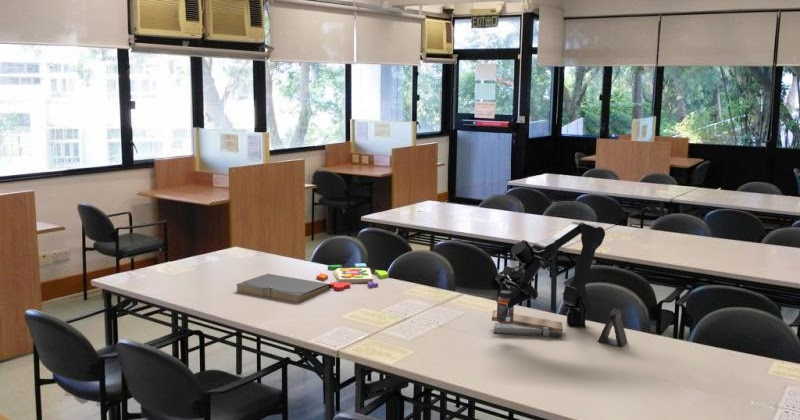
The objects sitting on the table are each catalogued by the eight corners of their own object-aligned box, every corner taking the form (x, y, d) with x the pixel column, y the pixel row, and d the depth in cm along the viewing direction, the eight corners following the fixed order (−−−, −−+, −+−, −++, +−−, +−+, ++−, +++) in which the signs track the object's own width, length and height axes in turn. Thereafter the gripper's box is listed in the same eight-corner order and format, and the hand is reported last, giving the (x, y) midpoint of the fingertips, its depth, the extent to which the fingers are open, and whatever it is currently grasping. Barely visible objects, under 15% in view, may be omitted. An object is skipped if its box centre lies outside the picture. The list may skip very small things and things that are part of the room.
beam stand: (558, 328, 278) (559, 319, 278) (559, 338, 267) (560, 329, 267) (494, 323, 282) (495, 315, 282) (493, 333, 272) (493, 324, 271)
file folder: (236, 283, 317) (270, 272, 338) (236, 292, 318) (270, 280, 339) (299, 294, 302) (330, 282, 324) (299, 304, 303) (330, 291, 324)
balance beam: (561, 326, 276) (562, 322, 276) (562, 333, 268) (562, 329, 268) (492, 313, 280) (493, 310, 280) (491, 320, 272) (492, 316, 272)
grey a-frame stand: (627, 342, 265) (630, 311, 262) (622, 347, 260) (624, 315, 258) (603, 337, 270) (605, 306, 268) (597, 342, 265) (599, 310, 263)
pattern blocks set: (306, 271, 355) (306, 265, 354) (371, 266, 368) (371, 260, 367) (331, 292, 320) (331, 286, 320) (401, 285, 333) (401, 279, 333)
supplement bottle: (512, 325, 261) (514, 294, 259) (495, 323, 262) (497, 293, 260) (513, 319, 267) (514, 289, 265) (497, 318, 268) (498, 288, 266)
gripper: (500, 252, 270) (474, 284, 267) (533, 263, 254) (506, 298, 251) (516, 270, 276) (491, 302, 272) (549, 282, 260) (523, 317, 256)
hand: (502, 304), depth 263 cm, fingers closed on supplement bottle, 6 cm apart
